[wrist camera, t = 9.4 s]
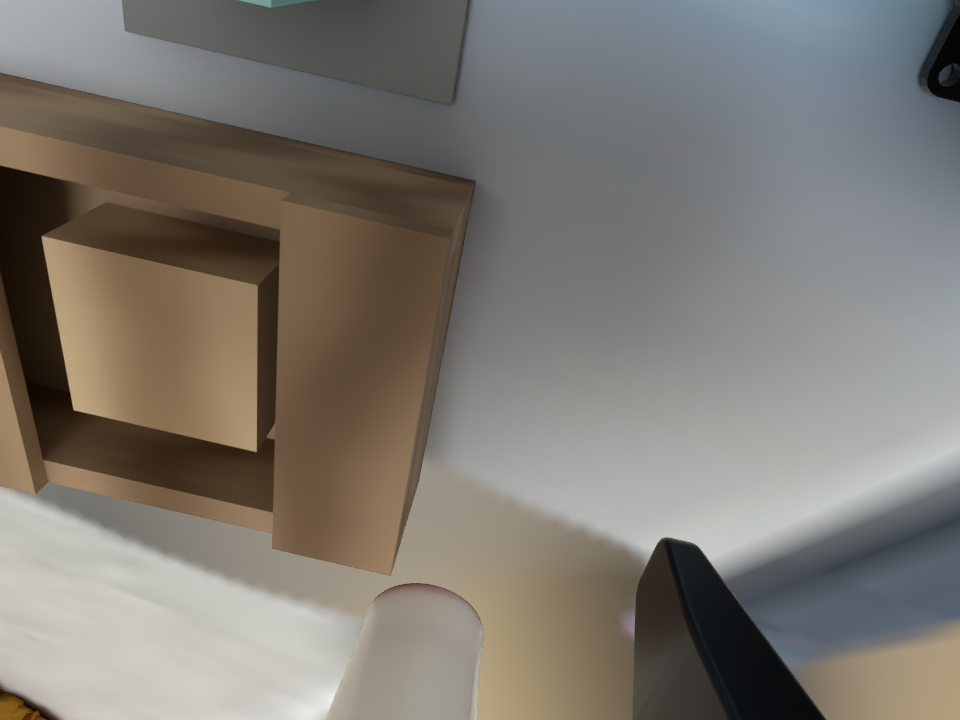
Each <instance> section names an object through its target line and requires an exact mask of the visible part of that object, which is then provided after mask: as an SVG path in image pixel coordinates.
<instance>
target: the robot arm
mask: <svg viewBox="0 0 960 720" xmlns="http://www.w3.org/2000/svg"><path fill="white" fill-rule="evenodd" d="M949 64H953V66H954V72H953V75H952V77H951V78H950V79H949V80H948V81H946V82H944V83H943V84H940V83H939V80H938V77H939V73H940V72H941V71H942V69H943V68H944V67H946V66H948V65H949ZM920 85H921V87H922V88H923V90H924V91H926V92H928V93H930V94H932V95H935V96H937V97H941V98H945V99H950V100H954V101H958V102H960V0H955V6H954V8H953V10H952V12H951V14H950V16H949V17H948V19H947V21H946V23H945V25H944V27H943V29H942V31H941V33H940V35H939V37H938V39H937V41H936V43H935V45H934V47H933V49H932V50H931V52H930V54H929V56H928V58H927V60H926V62H925V64H924V66H923V68H922V71H921V74H920ZM632 720H826V719H825V717H824V716H823V715H822V713H821V712H820V710H819V709H818V708H817V706H816V705H815V704H814V702H813V701H812V700H811V698H810V697H809V696H808V694H807V693H806V692H805V690H804V689H803V687H802V686H801V685H800V683H799V682H798V681H797V679H796V678H795V677H794V675H793V674H792V672H791V671H790V670H789V668H788V667H787V666H786V664H785V663H784V662H783V660H782V659H781V658H780V656H779V655H778V654H777V652H776V651H775V649H774V648H773V647H772V645H771V644H770V643H769V641H768V640H767V639H766V637H765V636H764V635H763V633H762V632H761V630H760V629H759V628H758V626H757V625H756V624H755V622H754V621H753V620H752V618H751V617H750V616H749V614H748V613H747V611H746V610H745V609H744V607H743V606H742V605H741V603H740V602H739V601H738V599H737V598H736V597H735V595H734V594H733V592H732V591H731V590H730V588H729V587H728V586H727V584H726V583H725V582H724V580H723V579H722V578H721V576H720V575H719V574H718V572H717V571H716V569H715V568H714V567H713V565H712V564H711V563H710V561H709V560H708V559H707V557H706V556H705V555H704V553H703V552H702V550H701V549H700V548H699V547H698V546H697V545H695V544H693V543H690V542H686V541H682V540H677V539H673V538H668V537H667V538H662V539H661V540H660V541H659V542H658V544H657V545H656V547H655V549H654V551H653V553H652V556H651V558H650V560H649V562H648V564H647V566H646V568H645V570H644V572H643V574H642V576H641V578H640V581H639V583H638V587H637V593H636V608H635V641H634V674H633V719H632Z"/></svg>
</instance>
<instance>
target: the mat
mask: <svg viewBox="0 0 960 720" xmlns="http://www.w3.org/2000/svg"><path fill="white" fill-rule="evenodd" d="M122 4H123V15H124V25H125V31H127V32H131V33H135V34H140V35H144V36H149V37H153V38H157V39H162V40H166V41H171V42H175V43H179V44H184V45H188V46H193V47H197V48H201V49H206V50H210V51H215V52H219V53H223V54H228V55H232V56H237V57H241V58H245V59H250V60H254V61H259V62H263V63H267V64H272V65H276V66H281V67H285V68H289V69H294V70H298V71H303V72H307V73H311V74H316V75H320V76H325V77H329V78H333V79H338V80H342V81H347V82H351V83H355V84H360V85H364V86H369V87H373V88H377V89H382V90H386V91H391V92H395V93H399V94H404V95H408V96H413V97H417V98H421V99H426V100H430V101H435V102H439V103H443V104H448V105H451V104H452V103H453V99H454V93H455V87H456V80H457V74H458V68H459V61H460V55H461V49H462V43H463V36H464V30H465V24H466V17H467V11H468V5H469V0H315V1H308V2H302V3H296V4H290V5H284V6H278V7H272V8H271V7H266V6H262V5H257V4H253V3H248V2H244V1H239V0H122Z"/></svg>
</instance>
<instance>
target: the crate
mask: <svg viewBox="0 0 960 720" xmlns="http://www.w3.org/2000/svg"><path fill="white" fill-rule="evenodd" d="M474 185H475V181H472V180H467V179H463V178H459V177H454V176H450V175H445V174H441V173H437V172H432V171H428V170H423V169H419V168H415V167H410V166H406V165H401V164H397V163H393V162H388V161H384V160H380V159H375V158H371V157H366V156H362V155H358V154H353V153H349V152H344V151H340V150H336V149H331V148H327V147H322V146H318V145H314V144H309V143H305V142H300V141H296V140H292V139H287V138H283V137H279V136H274V135H270V134H265V133H261V132H257V131H252V130H248V129H243V128H239V127H235V126H230V125H226V124H221V123H217V122H213V121H208V120H204V119H199V118H195V117H191V116H186V115H182V114H178V113H173V112H169V111H164V110H160V109H156V108H151V107H147V106H142V105H138V104H134V103H129V102H125V101H120V100H116V99H112V98H107V97H103V96H98V95H94V94H90V93H85V92H81V91H77V90H72V89H68V88H63V87H59V86H55V85H50V84H46V83H41V82H37V81H33V80H28V79H24V78H19V77H15V76H11V75H6V74H2V73H0V486H2V487H6V488H11V489H15V490H19V491H24V492H28V493H32V494H36V493H37V492H38V491H39V490H40V489H41V488H42V487H43V486H44V485H45V484H46V483H47V482H51V483H55V484H59V485H63V486H68V487H73V488H77V489H81V490H86V491H90V492H94V493H99V494H103V495H107V496H111V497H116V498H120V499H125V500H129V501H133V502H137V503H142V504H146V505H151V506H155V507H159V508H164V509H168V510H172V511H177V512H181V513H185V514H190V515H194V516H199V517H203V518H207V519H212V520H216V521H220V522H225V523H229V524H233V525H237V526H242V527H247V528H251V529H255V530H259V531H264V532H268V533H272V534H273V535H272V549H276V550H280V551H284V552H289V553H293V554H298V555H302V556H306V557H311V558H315V559H319V560H324V561H328V562H332V563H337V564H341V565H345V566H350V567H354V568H358V569H363V570H368V571H371V572H376V573H380V574H384V575H389V576H391V573H392V569H393V566H394V562H395V559H396V556H397V553H398V549H399V546H400V542H401V539H402V536H403V532H404V529H405V526H406V522H407V519H408V515H409V512H410V509H411V506H412V502H413V499H414V495H415V492H416V489H417V485H418V482H419V477H420V472H421V467H422V461H423V456H424V451H425V445H426V440H427V435H428V429H429V424H430V419H431V413H432V408H433V403H434V398H435V392H436V387H437V382H438V376H439V371H440V366H441V360H442V355H443V350H444V344H445V339H446V334H447V329H448V323H449V318H450V313H451V307H452V302H453V297H454V291H455V286H456V281H457V275H458V270H459V265H460V259H461V254H462V249H463V244H464V238H465V233H466V228H467V222H468V217H469V212H470V206H471V201H472V196H473V190H474Z"/></svg>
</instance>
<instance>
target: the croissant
mask: <svg viewBox="0 0 960 720" xmlns="http://www.w3.org/2000/svg"><path fill="white" fill-rule="evenodd" d="M0 720H47V719H45V718H43V717H42V716H40V714H39V712H38V710H37V711H33V710H31V709H30V708H28V707H26V706H24V701H23V700H21V699H19V698H17V697H15V696H13V695H9V694H6V693H3V692H2V689H1V687H0Z"/></svg>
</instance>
